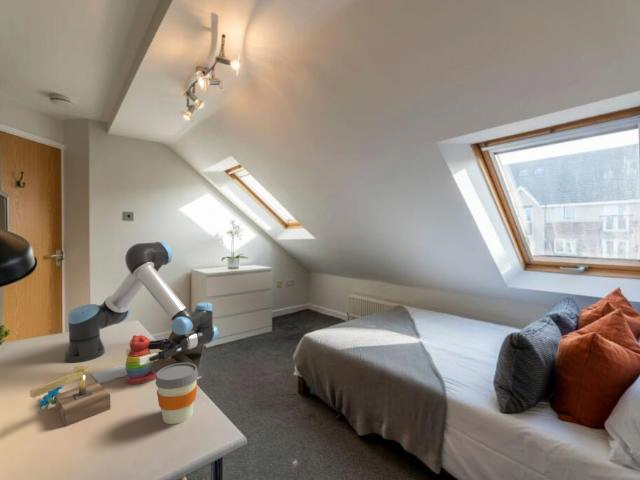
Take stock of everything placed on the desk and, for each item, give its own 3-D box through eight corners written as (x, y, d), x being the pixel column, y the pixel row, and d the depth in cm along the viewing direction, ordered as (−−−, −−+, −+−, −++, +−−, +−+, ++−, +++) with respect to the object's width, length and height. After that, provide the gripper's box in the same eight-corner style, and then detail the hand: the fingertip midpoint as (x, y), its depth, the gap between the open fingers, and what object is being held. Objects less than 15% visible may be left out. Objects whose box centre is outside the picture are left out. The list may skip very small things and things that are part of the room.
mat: (91, 374, 130) (91, 374, 130) (123, 365, 139) (123, 364, 139) (100, 384, 122) (100, 383, 122) (133, 373, 131) (133, 372, 131)
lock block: (55, 409, 105) (54, 394, 105) (97, 394, 115) (97, 380, 114) (65, 426, 96) (65, 409, 96) (110, 409, 106) (110, 393, 105)
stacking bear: (160, 377, 128) (159, 334, 127) (134, 387, 120) (133, 342, 119) (146, 370, 134) (145, 329, 133) (120, 380, 126) (119, 336, 125)
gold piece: (80, 390, 107) (80, 364, 107) (90, 392, 105) (89, 367, 105) (27, 415, 93) (26, 386, 93) (37, 418, 91) (36, 389, 91)
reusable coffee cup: (205, 414, 103) (204, 370, 102) (166, 433, 93) (165, 384, 93) (188, 400, 111) (187, 359, 110) (150, 416, 102) (149, 371, 101)
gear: (41, 393, 112) (65, 371, 114) (57, 401, 115) (80, 379, 117) (32, 414, 103) (59, 389, 105) (50, 421, 105) (75, 396, 108)
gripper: (199, 357, 133) (146, 375, 117) (171, 343, 149) (121, 357, 132) (199, 340, 133) (145, 356, 116) (171, 327, 148) (121, 340, 132)
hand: (132, 356), depth 124 cm, fingers open, 13 cm apart
